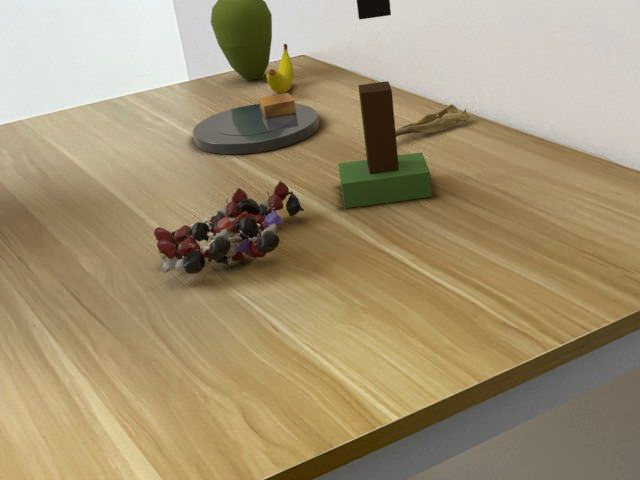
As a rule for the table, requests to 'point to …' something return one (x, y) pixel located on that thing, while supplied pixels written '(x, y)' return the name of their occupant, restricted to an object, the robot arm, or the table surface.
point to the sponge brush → (382, 157)
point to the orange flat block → (277, 105)
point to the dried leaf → (434, 122)
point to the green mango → (244, 35)
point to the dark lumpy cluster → (227, 232)
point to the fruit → (281, 74)
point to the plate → (254, 130)
